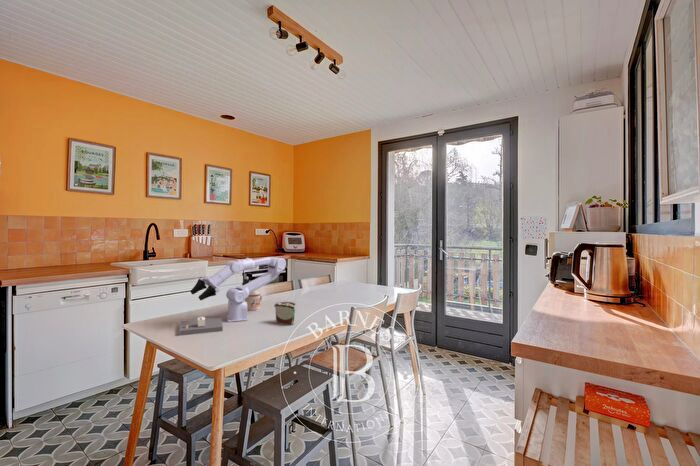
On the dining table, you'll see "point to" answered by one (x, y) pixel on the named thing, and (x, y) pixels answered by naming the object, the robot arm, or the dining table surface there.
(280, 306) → the food container
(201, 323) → the fader knob
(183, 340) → the dining table surface
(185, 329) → the console
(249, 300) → the teacup with lid
